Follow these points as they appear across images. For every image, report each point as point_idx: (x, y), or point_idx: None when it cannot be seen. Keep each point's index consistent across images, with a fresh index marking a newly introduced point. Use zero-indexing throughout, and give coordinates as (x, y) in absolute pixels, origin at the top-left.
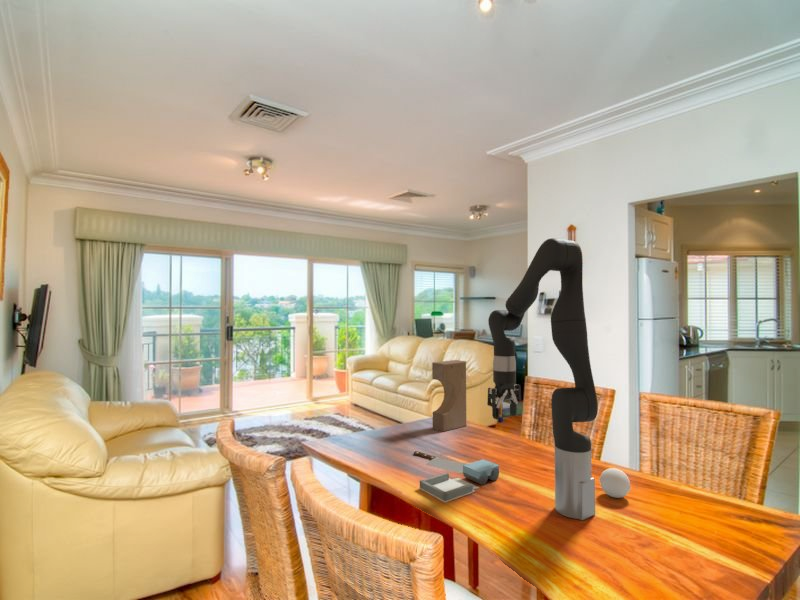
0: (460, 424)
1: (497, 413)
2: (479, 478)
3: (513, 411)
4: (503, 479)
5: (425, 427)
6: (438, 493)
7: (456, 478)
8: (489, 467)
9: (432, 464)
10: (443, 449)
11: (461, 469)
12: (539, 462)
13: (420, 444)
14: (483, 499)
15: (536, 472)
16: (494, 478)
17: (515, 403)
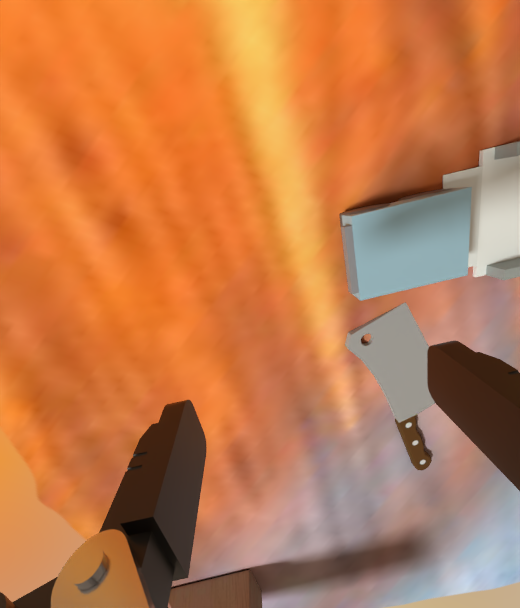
0: (182, 596)
1: (503, 378)
2: (448, 189)
3: (185, 443)
4: (322, 204)
5: (274, 599)
6: None
7: None
8: (400, 213)
9: None
10: (330, 469)
11: (391, 325)
12: (99, 288)
13: (363, 512)
14: (503, 77)
15: (167, 210)
16: (360, 208)
17: (130, 549)
